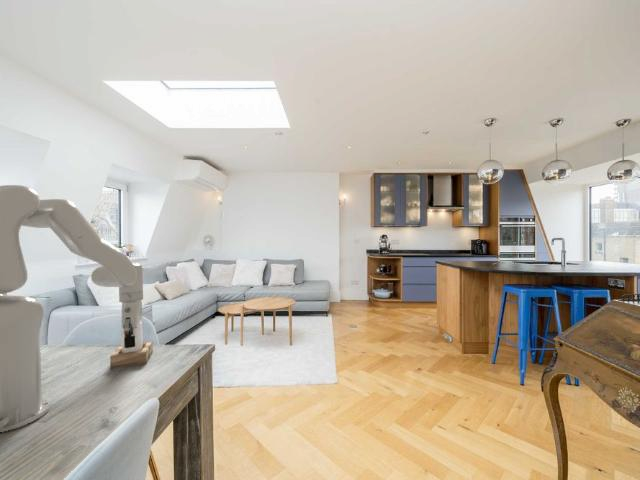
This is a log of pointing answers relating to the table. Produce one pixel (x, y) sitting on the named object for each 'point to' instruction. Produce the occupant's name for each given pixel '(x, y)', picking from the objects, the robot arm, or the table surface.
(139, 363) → the socket block
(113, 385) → the table surface
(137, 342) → the can
